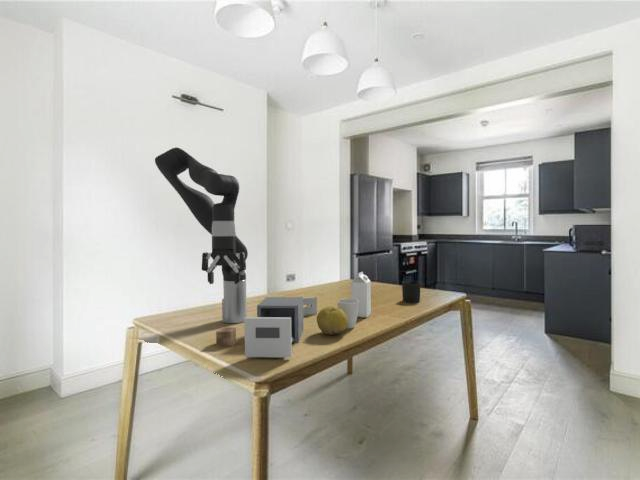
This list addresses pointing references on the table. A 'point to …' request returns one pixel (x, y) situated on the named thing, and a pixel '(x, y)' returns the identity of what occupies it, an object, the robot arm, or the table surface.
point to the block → (226, 336)
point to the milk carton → (362, 294)
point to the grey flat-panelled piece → (268, 337)
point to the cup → (349, 310)
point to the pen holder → (411, 291)
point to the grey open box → (284, 312)
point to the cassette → (312, 308)
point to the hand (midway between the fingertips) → (224, 283)
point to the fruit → (332, 320)
